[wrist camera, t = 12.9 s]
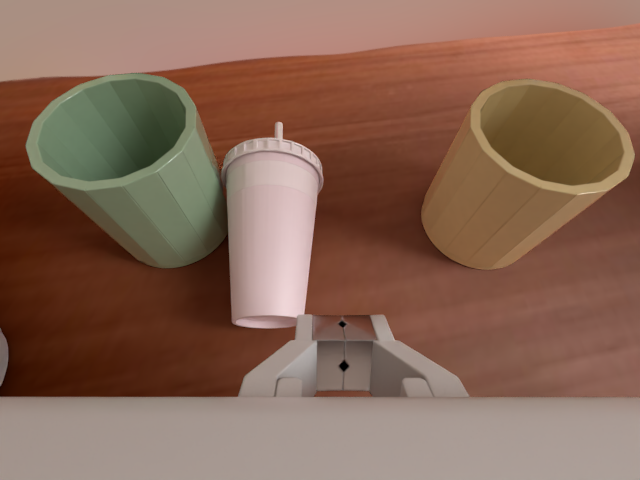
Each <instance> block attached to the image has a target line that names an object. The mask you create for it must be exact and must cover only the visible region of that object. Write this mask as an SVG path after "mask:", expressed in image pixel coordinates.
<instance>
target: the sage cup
mask: <svg viewBox="0 0 640 480" xmlns="http://www.w3.org/2000/svg"><path fill="white" fill-rule="evenodd" d="M26 150H27V153H28V157H29V160H30V164H31V167H32V168H33V170H34V171H36V172H37V173H38V174H39V175H40V176H41V177H42V178H44V179H45V180H46V181H47V182H48V183H49V184H50V185H52V186H53V187H54V188H55V189H56V190H57V191H58V192H60V193H61V194H62V195H63V196H64V197H65V198H66V199H67V200H69V201H70V202H71V203H72V204H73V205H74V206H75V207H77V208H78V209H79V210H80V211H81V212H82V213H83V214H85V215H86V216H87V217H88V218H89V219H90V220H91V221H92V222H94V223H95V224H96V225H97V226H98V227H99V228H100V229H102V230H103V231H104V232H105V233H106V234H107V235H108V236H110V237H111V238H112V239H113V240H114V241H115V242H116V243H117V244H119V245H120V246H121V247H122V248H123V249H124V250H126V251H127V252H128V253H129V254H131V255H132V256H133V257H134V258H135V259H137V260H138V261H140V262H142V263H144V264H146V265H149V266H153V267H158V268H177V267H182V266H186V265H189V264H192V263H194V262H197V261H199V260H201V259H202V258H204V257H206V256H207V255H209V254H210V253H211V252H213V251H214V250H215V249H216V248H217V247H218V246H219V245H220V244H221V243H222V241H223V240H224V238H225V237H226V235H227V233H228V213H227V189H226V188H225V187H224V185H223V183H222V180H221V171H220V169H219V166H218V163H217V161H216V158H215V155H214V153H213V150H212V148H211V145H210V142H209V140H208V137H207V134H206V132H205V129H204V126H203V124H202V121H201V119H200V116H199V113H198V111H197V108H196V106H195V104H194V103H193V101H192V99H191V98H190V96H189V95H188V93H187V92H186V90H185V89H184V88H182V87H180V86H179V85H177V84H175V83H173V82H172V81H170V80H168V79H166V78H164V77H160V76H154V75H148V74H142V73H129V74H117V75H109V76H104V77H101V78H98V79H95V80H92V81H89V82H86V83H83V84H80V85H78V86H76V87H74V88H72V89H71V90H69V91H68V92H66V93H64V94H63V95H61V96H59V97H58V98H56V99H54V100H53V101H52V102H51V103H50V104H49V105H48V106H47V107H46V108H45V109H44V110H43V111H42V113H41V114H40V115H39V116H38V117H37V118H36V119H35V120H34V122H33V124H32V127H31V130H30V133H29V136H28V139H27V142H26Z"/></svg>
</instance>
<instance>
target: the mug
mask: <svg viewBox="0 0 640 480" xmlns="http://www.w3.org/2000/svg"><path fill="white" fill-rule="evenodd" d="M7 365H8V344H7V341H6V338H5V337H4V335H3V333H2V331H1V328H0V386H1V384H2V382H3V380H4V376H5V373H6V369H7Z"/></svg>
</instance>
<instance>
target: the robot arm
mask: <svg viewBox="0 0 640 480" xmlns="http://www.w3.org/2000/svg"><path fill="white" fill-rule="evenodd" d="M342 390H343V391H370V393H371V395H372V396H373V397H314V395H315V394H316V391H342ZM0 480H640V397H470V396H469V395H468V393H467V391H466V390H465V388H464V386H463V385H462V383H461V381H460V380H459V378H458V377H457V376H456V375H454V374H452V373H451V372H449V371H447V370H446V369H444V368H443V367H441V366H439V365H438V364H436V363H435V362H433V361H431V360H430V359H428V358H426V357H425V356H423V355H422V354H420V353H418V352H417V351H415V350H413V349H412V348H410V347H409V346H407V345H405V344H404V343H402V342H401V341H395V339H394V337H393V335H392V332H391V330H390V327H389V325H388V322H387V320H386V317H385V316H384V315H313V322H312V314H304V315H298V316H297V323H296V332H295V340H290V341H289V342H288V343H287V344H285V345H284V346H283V347H281V348H280V349H279V350H277V351H276V352H275V353H274V354H272V355H271V356H270V357H268V358H267V359H266V360H265V361H263V362H262V363H261V364H259V365H258V366H257V367H255V368H254V369H253V370H252V371H250V372H249V373H248V374H246V375H245V376H244V379H243V382H242V385H241V388H240V392H239V395H238V397H0Z"/></svg>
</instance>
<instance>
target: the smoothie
mask: <svg viewBox="0 0 640 480" xmlns="http://www.w3.org/2000/svg"><path fill="white" fill-rule="evenodd" d="M221 180H222V183H223V185H224V187H225V188H226V189H227V213H228V238H229V263H230V287H231V312H232V323H233V324H235V325H237V326H242V327H248V328H264V329H271V328H287V327H293V326H296V323H297V316H298V315H304V312H305V303H306V294H307V285H308V276H309V267H310V258H311V249H312V241H313V232H314V223H315V214H316V206H317V195H318V194H319V192H320V191H321V189H322V187H323V181H324V178H323V175H322V165H321V162H320V160H319V159H318V157H317V156H316V155H315V154H314V153H313V152H312V151H311V150H309V149H308V148H306V147H304V146H303V145H301V144H298V143H296V142H293V141H289V140H285V139H283V124H282V123H281V122H276V123H275V138H257V139H252V140H248V141H245V142H242V143H240V144H238V145H236V146H235V147H233V148H232V149H231V150H230V151H229V152H228V153H227V155H226V156H225V158H224V162H223V168H222V171H221Z"/></svg>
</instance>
